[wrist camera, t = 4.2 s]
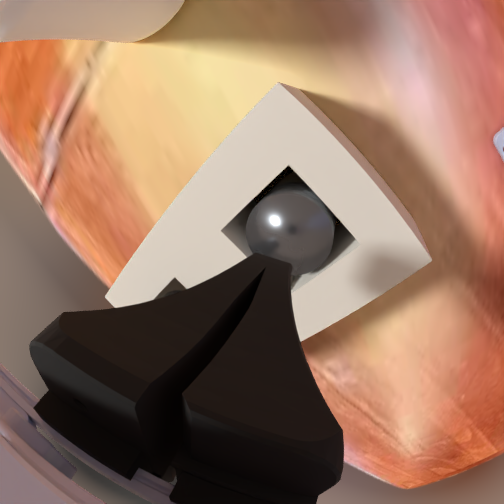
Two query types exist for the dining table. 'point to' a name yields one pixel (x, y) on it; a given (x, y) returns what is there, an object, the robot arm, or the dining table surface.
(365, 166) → the bore block
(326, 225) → the peg
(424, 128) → the dining table surface
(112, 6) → the beverage can
